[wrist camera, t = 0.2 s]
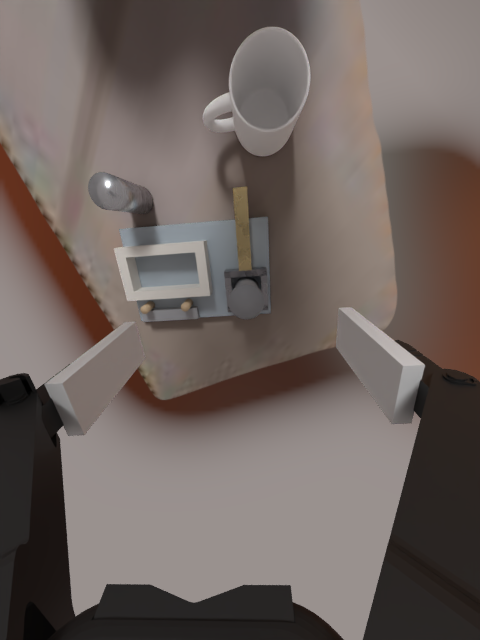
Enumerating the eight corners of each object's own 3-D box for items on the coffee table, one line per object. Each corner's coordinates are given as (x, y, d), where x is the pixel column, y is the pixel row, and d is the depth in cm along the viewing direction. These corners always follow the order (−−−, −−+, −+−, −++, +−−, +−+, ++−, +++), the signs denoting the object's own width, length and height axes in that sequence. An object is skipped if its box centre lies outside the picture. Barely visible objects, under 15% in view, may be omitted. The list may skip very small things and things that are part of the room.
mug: (215, 168, 36) (203, 147, 26) (203, 100, 33) (184, 48, 23) (295, 151, 35) (313, 122, 25) (289, 79, 32) (307, 14, 22)
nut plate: (122, 229, 39) (83, 229, 30) (267, 217, 38) (273, 213, 29) (144, 318, 45) (116, 342, 36) (270, 311, 44) (276, 333, 34)
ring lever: (217, 191, 35) (215, 189, 33) (263, 187, 35) (264, 185, 33) (229, 307, 42) (227, 312, 40) (267, 305, 42) (268, 309, 39)
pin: (125, 187, 37) (83, 173, 28) (150, 184, 37) (116, 170, 27) (131, 214, 38) (94, 211, 29) (155, 212, 38) (125, 208, 29)
